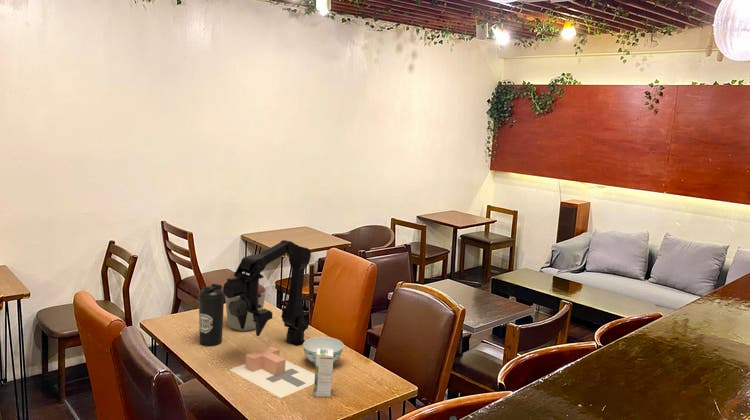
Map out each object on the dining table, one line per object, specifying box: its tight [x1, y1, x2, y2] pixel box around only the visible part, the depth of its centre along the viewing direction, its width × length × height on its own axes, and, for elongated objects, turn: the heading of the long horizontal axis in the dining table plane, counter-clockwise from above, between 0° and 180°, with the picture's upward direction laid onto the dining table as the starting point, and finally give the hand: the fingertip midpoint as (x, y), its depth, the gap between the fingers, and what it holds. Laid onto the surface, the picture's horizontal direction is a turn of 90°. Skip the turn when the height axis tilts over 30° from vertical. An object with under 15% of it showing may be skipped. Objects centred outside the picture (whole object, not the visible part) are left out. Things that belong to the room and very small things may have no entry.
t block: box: [245, 345, 287, 376], centre depth 202 cm, size 12×12×5 cm
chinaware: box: [302, 336, 345, 365], centre depth 210 cm, size 15×15×8 cm
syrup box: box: [313, 349, 334, 398], centre depth 187 cm, size 6×6×14 cm
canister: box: [224, 283, 268, 332], centre depth 241 cm, size 18×18×21 cm
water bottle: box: [197, 283, 226, 347], centre depth 222 cm, size 10×10×23 cm
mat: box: [229, 360, 315, 399], centre depth 199 cm, size 20×28×1 cm
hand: (250, 332), depth 208 cm, fingers open, 9 cm apart
